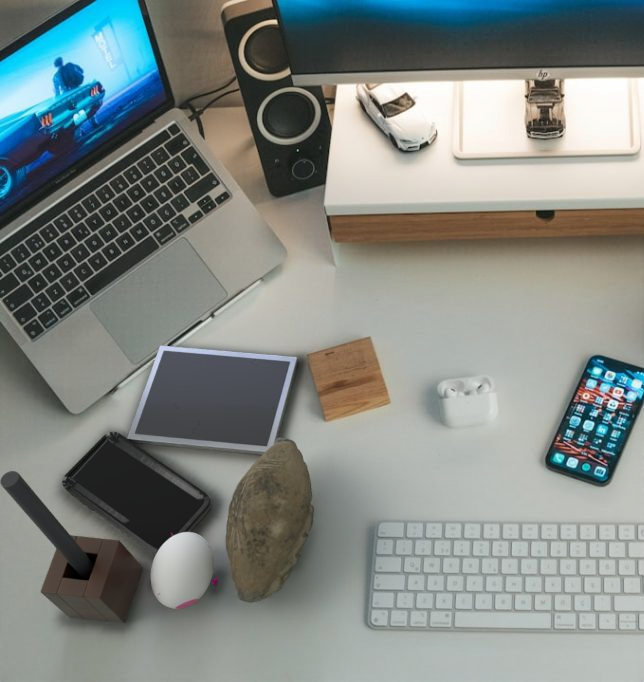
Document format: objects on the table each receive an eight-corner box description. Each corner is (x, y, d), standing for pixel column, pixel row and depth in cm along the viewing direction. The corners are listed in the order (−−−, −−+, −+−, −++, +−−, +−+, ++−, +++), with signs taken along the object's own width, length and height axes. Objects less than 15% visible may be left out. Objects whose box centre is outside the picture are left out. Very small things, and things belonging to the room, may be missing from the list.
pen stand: (68, 617, 106) (39, 592, 101) (88, 561, 110) (61, 533, 104) (124, 623, 106) (99, 598, 100) (143, 567, 109) (119, 540, 103)
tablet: (129, 442, 117) (126, 438, 116) (162, 348, 123) (159, 344, 123) (273, 456, 115) (271, 452, 115) (298, 360, 122) (297, 356, 121)
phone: (111, 427, 117) (213, 498, 111) (115, 432, 117) (216, 502, 112) (56, 483, 113) (159, 558, 108) (60, 488, 114) (162, 563, 109)
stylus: (96, 599, 107) (-4, 486, 90) (102, 584, 108) (4, 469, 91) (111, 600, 107) (14, 488, 90) (117, 585, 108) (22, 471, 91)
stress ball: (188, 558, 113) (136, 535, 109) (240, 541, 109) (188, 516, 104) (172, 629, 108) (117, 608, 104) (226, 613, 104) (171, 590, 100)
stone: (310, 615, 106) (294, 585, 99) (221, 614, 106) (198, 584, 99) (330, 459, 115) (316, 422, 108) (248, 458, 115) (229, 422, 109)
